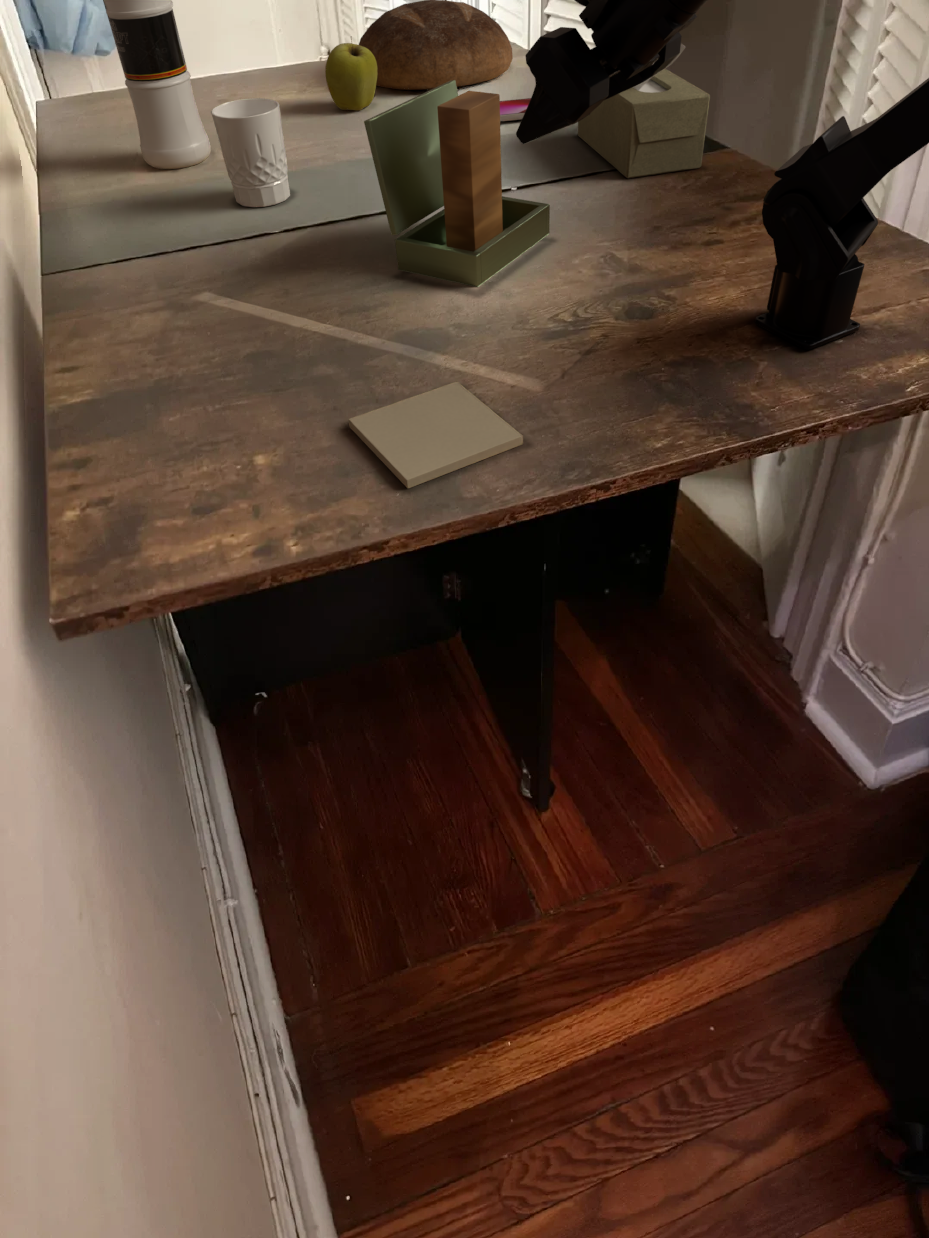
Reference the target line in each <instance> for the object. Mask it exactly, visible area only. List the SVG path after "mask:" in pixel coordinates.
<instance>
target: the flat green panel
mask: <svg viewBox="0 0 929 1238" xmlns="http://www.w3.org/2000/svg"><path fill="white" fill-rule="evenodd" d="M457 96H459V92H458V87H457V86H456V81H455V80H452V81H449V82H446V83H444V84H442V85H440V86H438V87H436V88H434V89H431V90H426V91H425V92H423V93H420V94H419V95H417V96H415V97H412V98H410V99H408V100H406V101H404V102H402V103H400V104H398V105H395V106H394V107H391V108H389V109H387V110H385V111H383V112H381V113H378V114H377V115H374V116H372V117H370V118H368V119H366V120H364V121H363V124H364V128H365V132H366V136H367V141H368V144H369V148H370V153H371V156H372V157H371V158H372V160H373V164H374V170H375V173H376V177H377V181H378V185H379V190H380V194H381V197H382V203H383V206H384V210H385V214H386V218H387V222H388V227H389V230H390V231H389V232H390V235H391V236H398V235H400V233H403V232H404V231H406V230H407V229H409V228H410V227H412V226H414V225H415V224H417V223H419V222H421V221H422V220H423V219H425V218H427V217H428V216H430V215H431V214H433V213H435V212H437V211H438V210H440V209H441V208H444V198H443V183H442V169H441V154H440V139H439V125H438V110H437V106H439V105H441V104H443V103H445V102H447V101H449V100H451V99H453V98H455V97H457Z"/></svg>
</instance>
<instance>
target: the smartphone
mask: <svg viewBox="0 0 929 1238" xmlns="http://www.w3.org/2000/svg"><path fill="white" fill-rule="evenodd" d="M530 100H531V97H528V98H527V97H526V98H519V99H518V98H517V99H507V100H500V122H509V121H517V120H522V118H523V116H524V114H525V111H526V109H527V107H528V104H529V102H530Z"/></svg>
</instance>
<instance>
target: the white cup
mask: <svg viewBox="0 0 929 1238" xmlns="http://www.w3.org/2000/svg"><path fill="white" fill-rule="evenodd" d="M210 114H211V118H212V122H213V126H214V129H215V133H216V137H217V141H218V143H219V147H220V151H221V155H222V158H223V162H224V165H225V169H226V172H227V176H228V178H229V180H230V181H231V182H230V183H231V187H232V190H233V194H234V198H235V201H236V203H237V204H239V205H240V206H242V207H248V208H265V207H270V206H275V205H278V204H281V203H283V202H285V201H286V200H288V199H289V198H290V197H291V190H290V189H291V188H290V183H289V174H288V171H289V167H288V157H287V151H286V143H285V137H284V136H285V135H284V129H283V128H284V127H283V122H282V114H281V106H280V103H279V102H278V101H277V100H274V99H272V98H265V97H253V98H252V97H250V98H249V97H248V98H241V99H234V100H229V101H226V102H223V103H220V104H218V105H216V106H214V107H213V108H212V109H211V111H210Z"/></svg>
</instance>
